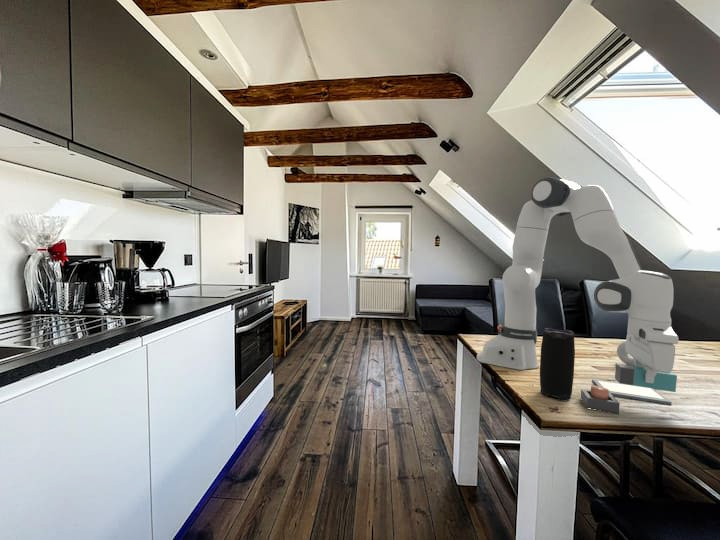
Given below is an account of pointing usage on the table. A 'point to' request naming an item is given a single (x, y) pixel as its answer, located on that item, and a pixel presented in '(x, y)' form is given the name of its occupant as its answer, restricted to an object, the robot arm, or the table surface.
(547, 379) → the portable speaker
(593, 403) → the button housing
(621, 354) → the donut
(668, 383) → the marker
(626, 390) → the drawing board
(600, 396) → the button
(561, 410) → the table surface
